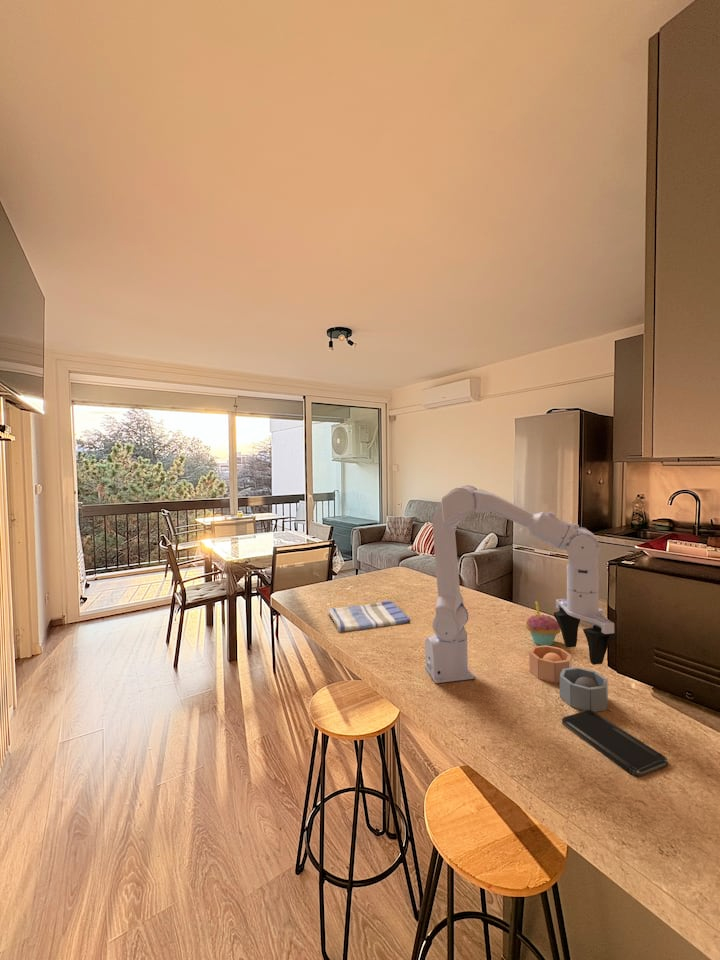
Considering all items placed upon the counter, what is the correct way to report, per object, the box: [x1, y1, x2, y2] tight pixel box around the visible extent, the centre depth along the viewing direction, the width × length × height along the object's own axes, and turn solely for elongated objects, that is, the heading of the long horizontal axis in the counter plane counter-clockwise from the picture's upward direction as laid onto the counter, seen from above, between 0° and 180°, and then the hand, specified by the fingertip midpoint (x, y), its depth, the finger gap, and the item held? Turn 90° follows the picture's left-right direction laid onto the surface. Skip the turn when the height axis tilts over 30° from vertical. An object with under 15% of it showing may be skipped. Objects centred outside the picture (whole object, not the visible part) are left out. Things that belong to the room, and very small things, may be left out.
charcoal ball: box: [575, 677, 598, 688], centre depth 84 cm, size 4×4×4 cm
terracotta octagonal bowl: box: [528, 645, 573, 684], centre depth 95 cm, size 8×8×4 cm
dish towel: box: [326, 600, 411, 633], centre depth 133 cm, size 17×24×3 cm
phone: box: [561, 710, 669, 778], centre depth 72 cm, size 8×1×15 cm
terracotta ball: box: [543, 653, 562, 661], centre depth 95 cm, size 4×4×4 cm
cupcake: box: [525, 598, 561, 646], centre depth 111 cm, size 9×8×12 cm
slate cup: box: [559, 666, 609, 713], centre depth 85 cm, size 8×8×4 cm
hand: (583, 654), depth 84 cm, fingers open, 7 cm apart
